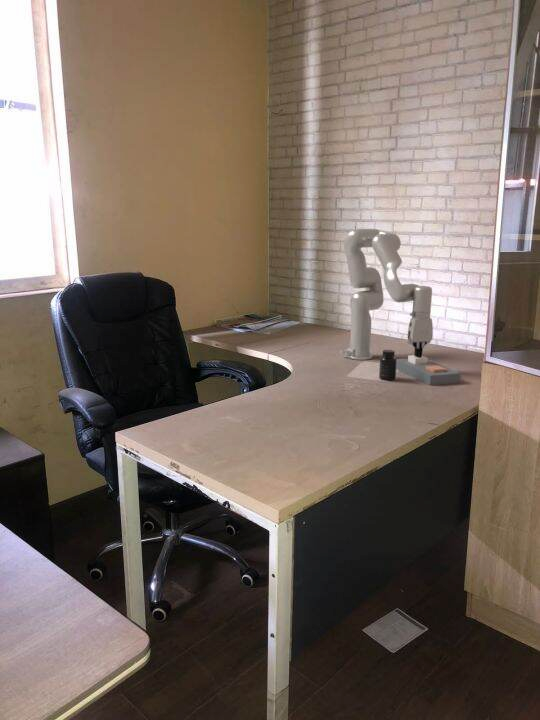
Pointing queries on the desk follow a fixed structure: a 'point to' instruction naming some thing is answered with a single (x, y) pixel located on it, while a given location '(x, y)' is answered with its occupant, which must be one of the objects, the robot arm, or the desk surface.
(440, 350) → the desk surface
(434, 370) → the terracotta key
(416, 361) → the off-white key
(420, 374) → the key panel
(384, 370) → the supplement bottle
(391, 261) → the robot arm
